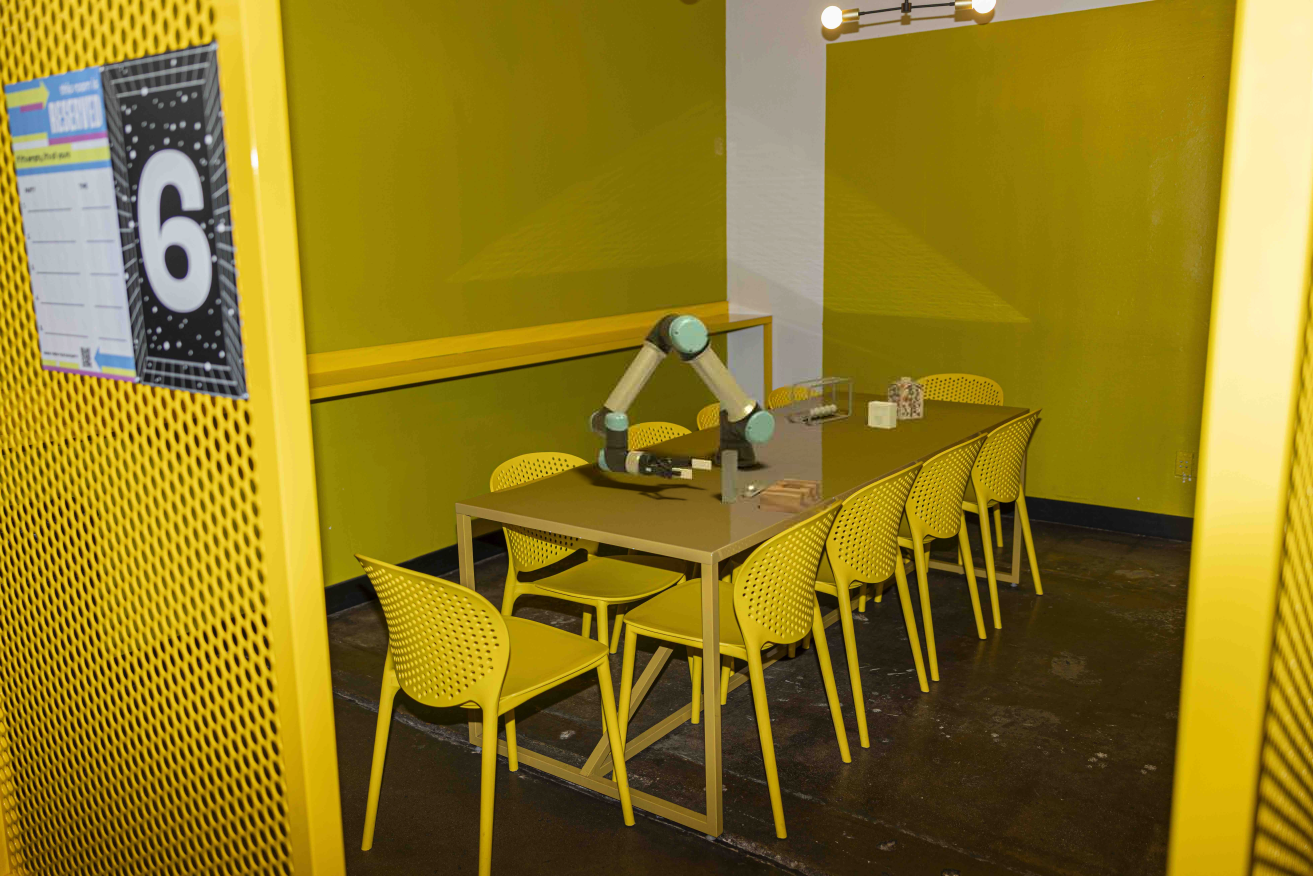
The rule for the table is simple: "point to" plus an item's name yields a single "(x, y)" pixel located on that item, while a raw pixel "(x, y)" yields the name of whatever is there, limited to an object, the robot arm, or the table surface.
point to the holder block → (790, 495)
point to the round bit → (753, 488)
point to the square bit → (729, 476)
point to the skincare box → (882, 414)
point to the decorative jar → (907, 398)
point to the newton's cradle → (821, 410)
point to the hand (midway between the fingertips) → (701, 469)
